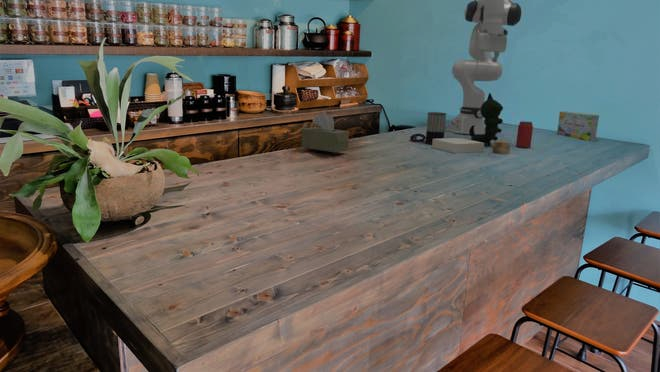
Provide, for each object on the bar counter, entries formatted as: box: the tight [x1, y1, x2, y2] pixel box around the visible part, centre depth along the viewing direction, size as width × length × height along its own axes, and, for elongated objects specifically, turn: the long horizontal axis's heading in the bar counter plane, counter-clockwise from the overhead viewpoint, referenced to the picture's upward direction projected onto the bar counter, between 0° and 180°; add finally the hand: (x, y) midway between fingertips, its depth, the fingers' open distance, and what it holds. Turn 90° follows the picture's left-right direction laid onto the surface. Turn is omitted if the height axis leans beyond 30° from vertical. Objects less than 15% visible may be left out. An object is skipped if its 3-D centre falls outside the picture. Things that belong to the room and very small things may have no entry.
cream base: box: [431, 137, 485, 154], centre depth 226 cm, size 16×16×4 cm
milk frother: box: [409, 111, 447, 145], centre depth 244 cm, size 14×16×15 cm
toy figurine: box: [468, 92, 504, 147], centre depth 243 cm, size 9×19×25 cm, turn 27°
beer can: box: [515, 120, 534, 149], centre depth 242 cm, size 7×7×12 cm
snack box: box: [556, 110, 600, 142], centre depth 274 cm, size 21×6×15 cm, turn 25°
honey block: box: [491, 140, 511, 155], centre depth 222 cm, size 5×5×5 cm
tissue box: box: [301, 111, 350, 153], centre depth 215 cm, size 19×10×16 cm, turn 52°
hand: (488, 61), depth 233 cm, fingers open, 8 cm apart
